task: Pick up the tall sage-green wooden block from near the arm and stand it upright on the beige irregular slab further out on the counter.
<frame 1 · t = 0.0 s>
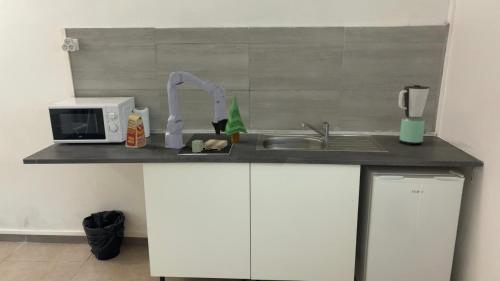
hand: (220, 133, 203), 10 cm above the worktop, tool pointing down, fingers open, 7 cm apart
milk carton: (137, 145, 216), on the worktop
green block: (197, 151, 204), on the worktop
mint green blender: (409, 143, 221), on the worktop
decorative tree: (235, 142, 226), on the worktop
beige irregular slab: (215, 147, 213), on the worktop
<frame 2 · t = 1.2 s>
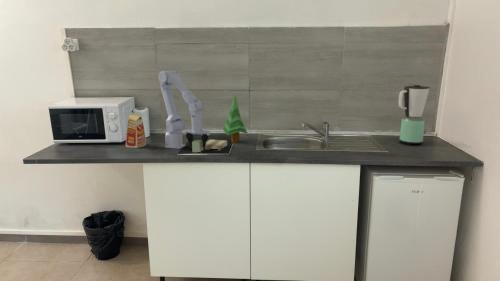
hand: (197, 146, 203), 3 cm above the worktop, tool pointing down, fingers open, 7 cm apart
nothing on the worktop moved.
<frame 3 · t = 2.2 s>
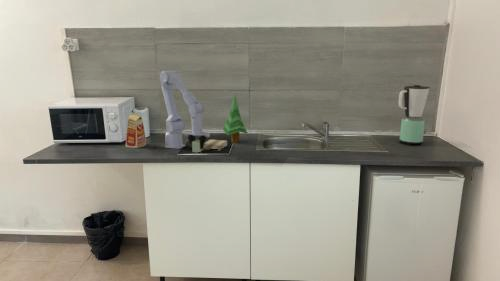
hand: (197, 148, 204), 2 cm above the worktop, tool pointing down, fingers closed on green block, 4 cm apart
green block: (197, 151, 204), on the worktop, touching gripper
everything else where it was.
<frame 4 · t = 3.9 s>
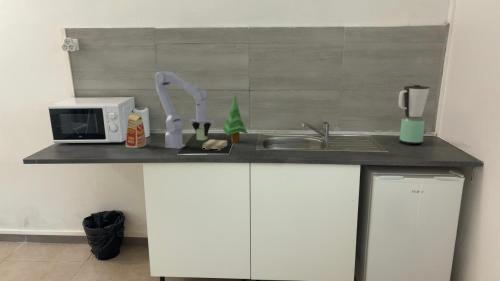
hand: (202, 135, 204), 8 cm above the worktop, tool pointing down, fingers closed on green block, 4 cm apart
green block: (202, 139, 205), point 6 cm above the worktop, touching gripper
everything else where it was.
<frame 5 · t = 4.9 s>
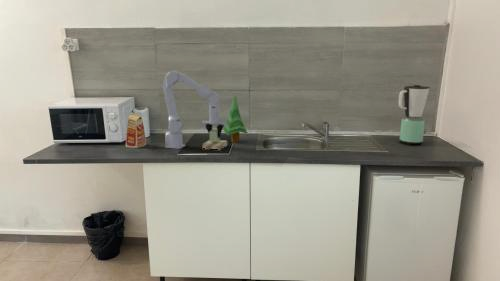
hand: (214, 137, 211), 6 cm above the worktop, tool pointing down, fingers closed on green block, 4 cm apart
green block: (214, 140, 211), point 4 cm above the worktop, touching gripper
everything else where it was.
when the fingers open (6 cm above the worktop, at t = 5.7 s): green block stays where it is, resting on beige irregular slab.
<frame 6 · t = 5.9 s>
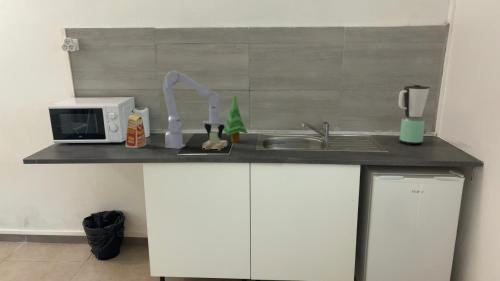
hand: (214, 137, 211), 6 cm above the worktop, tool pointing down, fingers open, 6 cm apart
green block: (214, 142, 212), point 3 cm above the worktop, touching beige irregular slab
everything else where it was.
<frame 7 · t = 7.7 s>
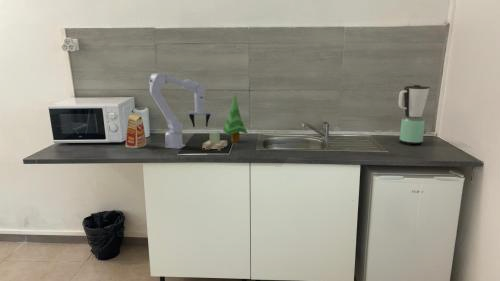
hand: (200, 126, 219), 10 cm above the worktop, tool pointing down, fingers open, 7 cm apart
nothing on the worktop moved.
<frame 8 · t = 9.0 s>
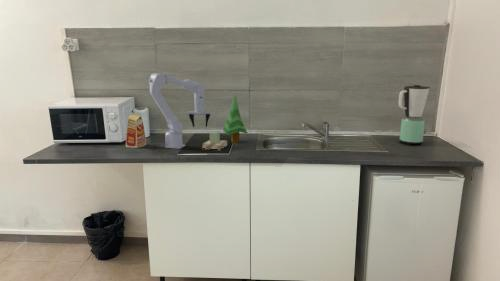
hand: (200, 126, 219), 10 cm above the worktop, tool pointing down, fingers open, 7 cm apart
nothing on the worktop moved.
at the end: green block 0.3 cm off-centre on the beige irregular slab, point 3.0 cm above the beige irregular slab's base; green block tilted 0°; the gripper is holding nothing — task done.
